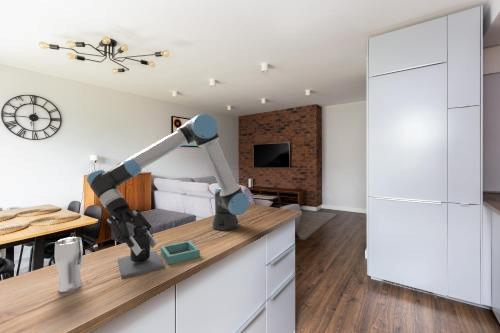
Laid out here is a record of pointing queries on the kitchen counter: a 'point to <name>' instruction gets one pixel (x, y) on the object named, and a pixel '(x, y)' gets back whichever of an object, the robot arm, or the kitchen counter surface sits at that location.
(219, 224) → the robot arm
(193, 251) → the teal collar
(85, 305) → the kitchen counter surface
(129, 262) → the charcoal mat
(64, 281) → the beer glass
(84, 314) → the kitchen counter surface
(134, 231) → the supplement bottle
